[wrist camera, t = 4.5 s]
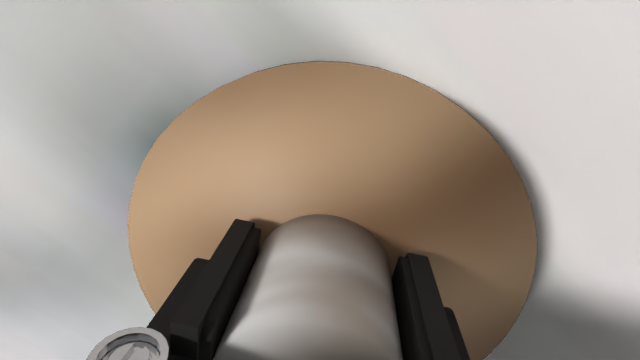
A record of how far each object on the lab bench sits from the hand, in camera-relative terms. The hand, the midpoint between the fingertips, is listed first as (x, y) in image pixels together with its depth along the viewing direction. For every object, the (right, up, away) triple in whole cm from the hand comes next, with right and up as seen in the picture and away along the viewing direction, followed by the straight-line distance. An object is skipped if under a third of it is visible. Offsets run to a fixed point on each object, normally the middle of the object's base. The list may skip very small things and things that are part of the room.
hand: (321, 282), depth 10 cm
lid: (0, 0, +1) cm, 1 cm away
